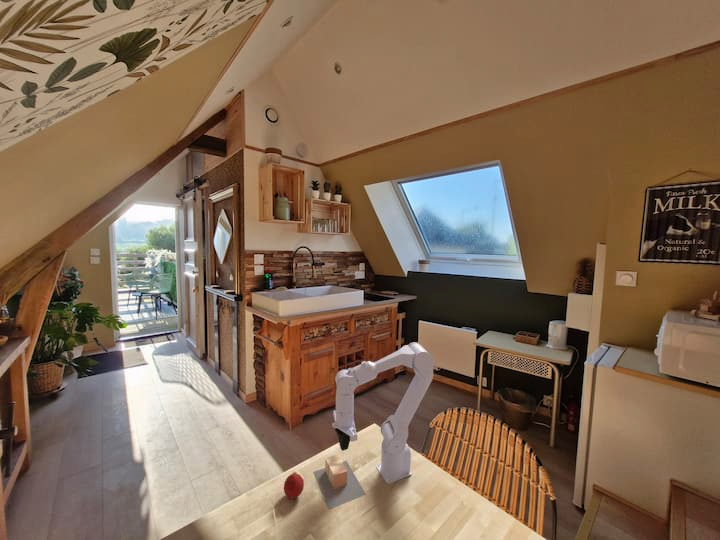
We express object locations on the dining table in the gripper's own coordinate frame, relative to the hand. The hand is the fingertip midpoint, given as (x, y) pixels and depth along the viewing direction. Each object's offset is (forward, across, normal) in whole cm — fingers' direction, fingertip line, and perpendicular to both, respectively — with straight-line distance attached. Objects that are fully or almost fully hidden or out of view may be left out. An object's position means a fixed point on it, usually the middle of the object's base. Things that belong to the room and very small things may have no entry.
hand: (344, 448), depth 94 cm
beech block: (+7, +3, -3) cm, 8 cm away
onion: (+10, 0, -17) cm, 19 cm away
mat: (+10, +2, -3) cm, 10 cm away
